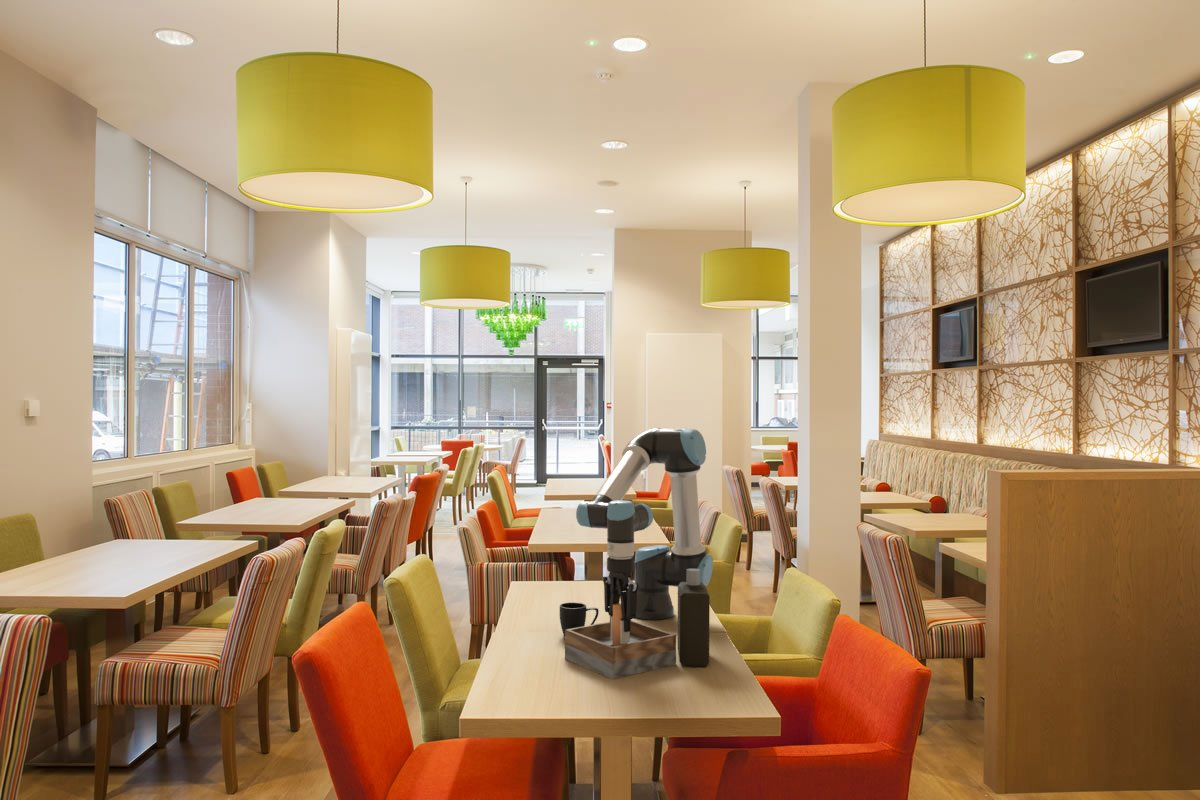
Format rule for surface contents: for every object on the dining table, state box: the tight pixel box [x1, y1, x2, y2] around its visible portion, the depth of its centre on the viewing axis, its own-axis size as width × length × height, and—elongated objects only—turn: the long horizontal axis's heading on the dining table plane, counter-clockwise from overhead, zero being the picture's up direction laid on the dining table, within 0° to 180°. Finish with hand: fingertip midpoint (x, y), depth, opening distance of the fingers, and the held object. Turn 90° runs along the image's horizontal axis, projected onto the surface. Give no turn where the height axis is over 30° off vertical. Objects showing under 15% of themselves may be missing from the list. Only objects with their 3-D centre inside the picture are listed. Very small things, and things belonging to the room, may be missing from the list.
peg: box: [613, 602, 627, 647], centre depth 229 cm, size 4×4×14 cm
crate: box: [564, 619, 677, 680], centre depth 229 cm, size 22×22×8 cm
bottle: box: [677, 568, 711, 668], centre depth 231 cm, size 8×16×25 cm, turn 177°
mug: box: [559, 601, 600, 638], centre depth 253 cm, size 8×12×10 cm
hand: (619, 641), depth 229 cm, fingers closed on peg, 4 cm apart
